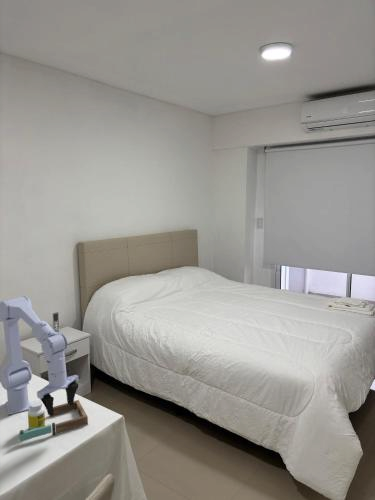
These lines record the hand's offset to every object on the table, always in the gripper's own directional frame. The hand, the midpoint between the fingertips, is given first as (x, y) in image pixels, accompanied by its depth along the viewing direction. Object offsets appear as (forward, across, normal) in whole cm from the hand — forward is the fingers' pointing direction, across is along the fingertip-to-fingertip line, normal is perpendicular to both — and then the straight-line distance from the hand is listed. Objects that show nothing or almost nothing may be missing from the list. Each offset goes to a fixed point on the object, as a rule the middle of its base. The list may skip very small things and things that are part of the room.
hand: (60, 409), depth 127 cm
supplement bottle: (+10, -3, +12) cm, 15 cm away
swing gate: (+8, -6, +7) cm, 12 cm away
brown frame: (+10, +6, +8) cm, 14 cm away
